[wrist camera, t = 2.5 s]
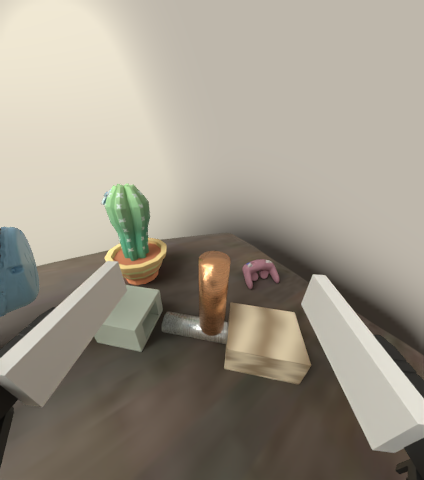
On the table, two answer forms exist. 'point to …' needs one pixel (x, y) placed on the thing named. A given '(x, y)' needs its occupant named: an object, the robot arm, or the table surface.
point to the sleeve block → (265, 344)
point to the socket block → (132, 319)
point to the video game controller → (259, 265)
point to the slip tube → (205, 303)
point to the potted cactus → (133, 235)
